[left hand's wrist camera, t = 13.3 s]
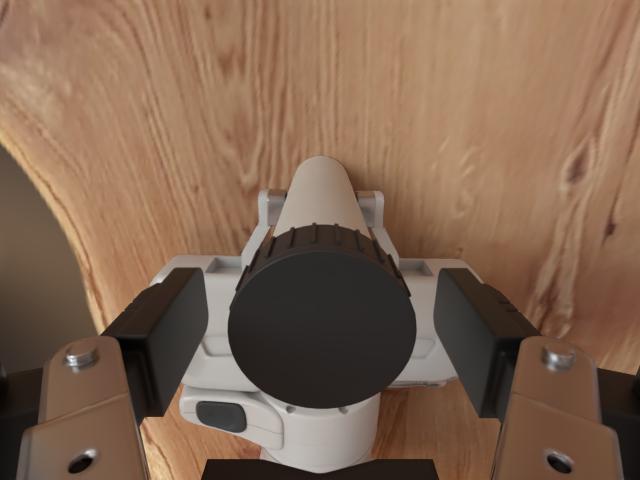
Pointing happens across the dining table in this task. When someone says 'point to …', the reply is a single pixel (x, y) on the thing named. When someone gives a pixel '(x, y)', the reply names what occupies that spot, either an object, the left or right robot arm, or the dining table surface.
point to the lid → (321, 318)
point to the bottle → (321, 198)
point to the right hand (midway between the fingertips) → (320, 191)
